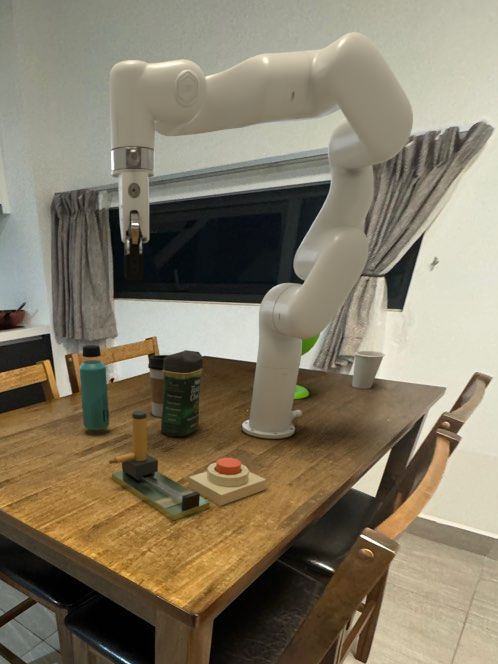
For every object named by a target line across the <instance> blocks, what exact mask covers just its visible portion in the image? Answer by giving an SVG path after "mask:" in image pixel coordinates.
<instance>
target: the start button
mask: <svg viewBox="0 0 498 664" xmlns="http://www.w3.org/2000/svg"><path fill="white" fill-rule="evenodd" d="M216 462H217V463H216ZM216 462H215V463H216V472H218V473H220V474H224V475H236V474H239V473H240V469H241V464H242V462H241V460H240V459H237V458H233V457H221V458H218V459H217V460H216Z"/></svg>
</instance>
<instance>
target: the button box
mask: <svg viewBox="0 0 498 664" xmlns="http://www.w3.org/2000/svg"><path fill="white" fill-rule="evenodd" d="M216 463H217V461H216V462H213V463H210V464H209V465H208V467H207V468H206V470H205V471H203V472H200V473H197V474H193V475H190V476H188V481H187V482H188V483H187V484H188V485H187V488H189V490H191V491H193V492H198V493H200V496H201V497H203V498H206V499H207V500H208V501H210V502H213V503H215V504H216V505H217V506H220V507H221V506H224V505H227V504H230V503H232V502H235V501H239V500H240V499H241V500H242V499H244V498H246V497H249V496H252V495H254V494H258V493H260V492H263V491H266V490H265V489H266V483H267V479H266V478H264V477H263V476H262V477H261V476H259V475H258V474H255V473H253V472H252V471H250V470H249V469H248V467H247V466H246V465H244V464H242V463H241V469H240V473H239V474H236V475H224V474H220V473H218V472H216Z"/></svg>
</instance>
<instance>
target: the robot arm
mask: <svg viewBox="0 0 498 664" xmlns="http://www.w3.org/2000/svg"><path fill="white" fill-rule="evenodd" d="M108 77H109V78H108V79H109V81H108V89H109V90H108V91H109V130H110V133H109V134H110V135H109V137H110V138H109V139H110V176H111V177H113V178H115V179H116V178H117V181H118V182H117V183H118V185H117V186H118V215H119V228H120V229H119V230H120V238H121V242H122V243H123V244H124V254H123V277H124V279H125V280H126V282H127V281H128V282H132V281H133V282H141V281H143V280H144V254H143V244H147V243H148V242H149V241H150V182H149V179H150V178H152V177H154V176H155V151H156V150H155V148H156V147H155V146H156V144H155V143H156V135H155V134H156V133H157V134H159V135H161V136H164V137H180V136H191V135H201V134H207V133H212V132H218V131H224V130H234V129H241V128H242V129H243V128H247V127H251V126H252V127H253V126H258V125H265V124H266V125H267V124H277V123H285V122H287V123H288V122H297V121H298V122H299V121H308V120H309V121H310V120H317V119H320V118H323V117H327V116H329V115H331V114H333V113H335V112H338V111H341V113H342V114H343V116H344V117H342V118H341V120H339V121H338V122H337V124H336V125H335V127H334V128H333V130H332V132H331V134H330V136H329V139H328V143H327V144H328V146H327V159H328V164H329V171H330V186H329V190H328V194H327V196H326V199H325V201H324V203H323V205H322V207H321V209H320V210H319V212H318V214H317V216H316V217H315V219H314V221H312V223H311V225H310V228H309V230H308V231H307V232H306V234H305V236H304V238H303V240H302V241H301V243H300V245H299V246H298V248H297V250H296V251H295V254H294V258H293V270H294V273H295V275H296V276H297V277H298V278H299V279H301V280H302V281H304V282H303V284H302V283H296V282H295V283H293V282H285V283H280V284H277V285H275V286H273V287H272V288H271V289H269V290H268V291H267V292H266V294H265V295H264V297H263V298H262V301H261V302H260V306H259V310H258V311H259V312H258V349H257V356H256V363H255V364H256V366H255V371H254V372H255V373H254V379H253V388H252V395H251V403H250V410H249V418H248V419H247V420H245V421H243V422H242V424H241V430H242V432H244V433H245V434H247V435H249V436H252V437H255V438H261V439H268V440H269V439H270V440H275V439H277V440H278V439H286V438H289V437H291V436H292V435H294V434H295V430H296V426H295V425H294V424H293V423H292V421H294V420H295V419H299V418H301V417H302V416H303V411H302V410H301V409H295V410H293V405H294V400H295V399H294V394H295V388H296V385H297V382H298V378H299V377H298V376H299V371H300V366H301V361H302V356H301V354H302V339H310V338H313V337H315V336H317V335H318V334H320V335H321V333H322V332H323V331H324V330H325V329H326V328H327V327H328V325H330V323H331V322H332V321H333V319H334V317H335V316H336V314H337V313H338V311H339V309H340V308H341V306H342V305H343V304H344V302H345V300H346V299H347V297H348V296H349V294H350V293H351V291H352V290H353V288H354V286H355V285H356V283H357V282H358V280H359V279H360V277H361V275H362V274H363V272H364V269H365V268H366V264H367V261H368V257H369V253H370V251H369V250H370V249H369V247H370V246H369V239H368V237H367V235H366V233H365V232H364V231H363V230H362V229H361V226H362V224H363V222H364V221H365V219H366V217H367V215H368V213H369V211H370V209H371V206H372V204H373V203H372V202H373V198H374V193H375V192H374V190H375V185H374V184H375V183H374V182H375V181H374V169H373V168H374V167H373V166H374V165H378V164H383V163H385V162H387V161H389V160H391V159H392V158H395V156H397V155H398V154H399V153H400V152H401V150H403V148H404V147H405V145H406V144H407V142H408V140H409V138H410V136H411V133H412V130H413V124H414V113H413V107H412V103H411V102H410V99H409V98H408V96H407V94H406V91H405V90H404V88H403V86H402V85H401V84H400V82H399V81H398V78H397V77H396V75H395V74H394V72H393V70H392V69H391V67H390V65H389V64H388V62H387V60H386V59H385V57H384V56H383V54H382V52H381V51H380V50H379V48H378V47H377V45H375V43H374V42H373V41H372V40H371V39H370V38H369V37H368V36H367V35H365V34H363V33H361V32H358V31H351V32H348V33H346V34H344V35H342V36H340V37H339V38H338V39H336V40H335V41H333V42H331V43H330V44H329V45H327V46H325V47H324V48H318V49H310V50H298V51H286V52H285V51H284V52H283V51H282V52H267V53H260V54H257V55H254V56H252V57H249V58H247V59H245V60H243V61H240V62H239V63H237V64H235V65H233V66H232V67H230V68H228V69H225V70H222V71H220V72H217V73H213V74H210V75H205V74H204V71H203V69H202V68H201V67H200V66H199V65H198V64H197V63H195V62H194V61H192V60H190V59H182V58H181V59H174V60H167V61H161V62H151V63H150V62H149V63H148V62H146V61H143V60H140V59H139V60H138V59H127V60H122V61H119V62H117V63H115V64H114V65H113V66H112V68H111V69H110V71H109V76H108Z"/></svg>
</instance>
